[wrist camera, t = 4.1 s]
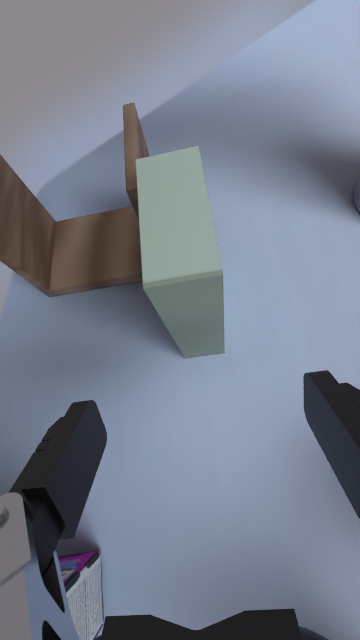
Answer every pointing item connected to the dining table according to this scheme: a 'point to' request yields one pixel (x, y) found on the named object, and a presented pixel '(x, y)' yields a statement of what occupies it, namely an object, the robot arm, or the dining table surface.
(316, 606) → the dining table surface
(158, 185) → the book
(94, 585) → the candy bar box
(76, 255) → the cubby
